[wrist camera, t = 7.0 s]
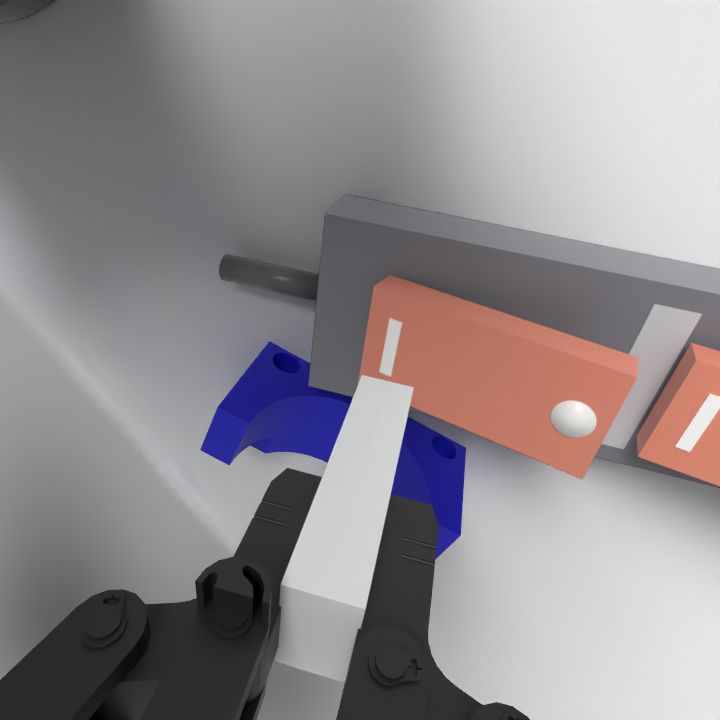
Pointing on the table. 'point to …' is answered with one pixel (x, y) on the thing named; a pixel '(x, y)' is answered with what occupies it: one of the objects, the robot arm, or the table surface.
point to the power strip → (501, 296)
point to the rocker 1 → (497, 373)
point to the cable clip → (331, 434)
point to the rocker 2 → (687, 418)
